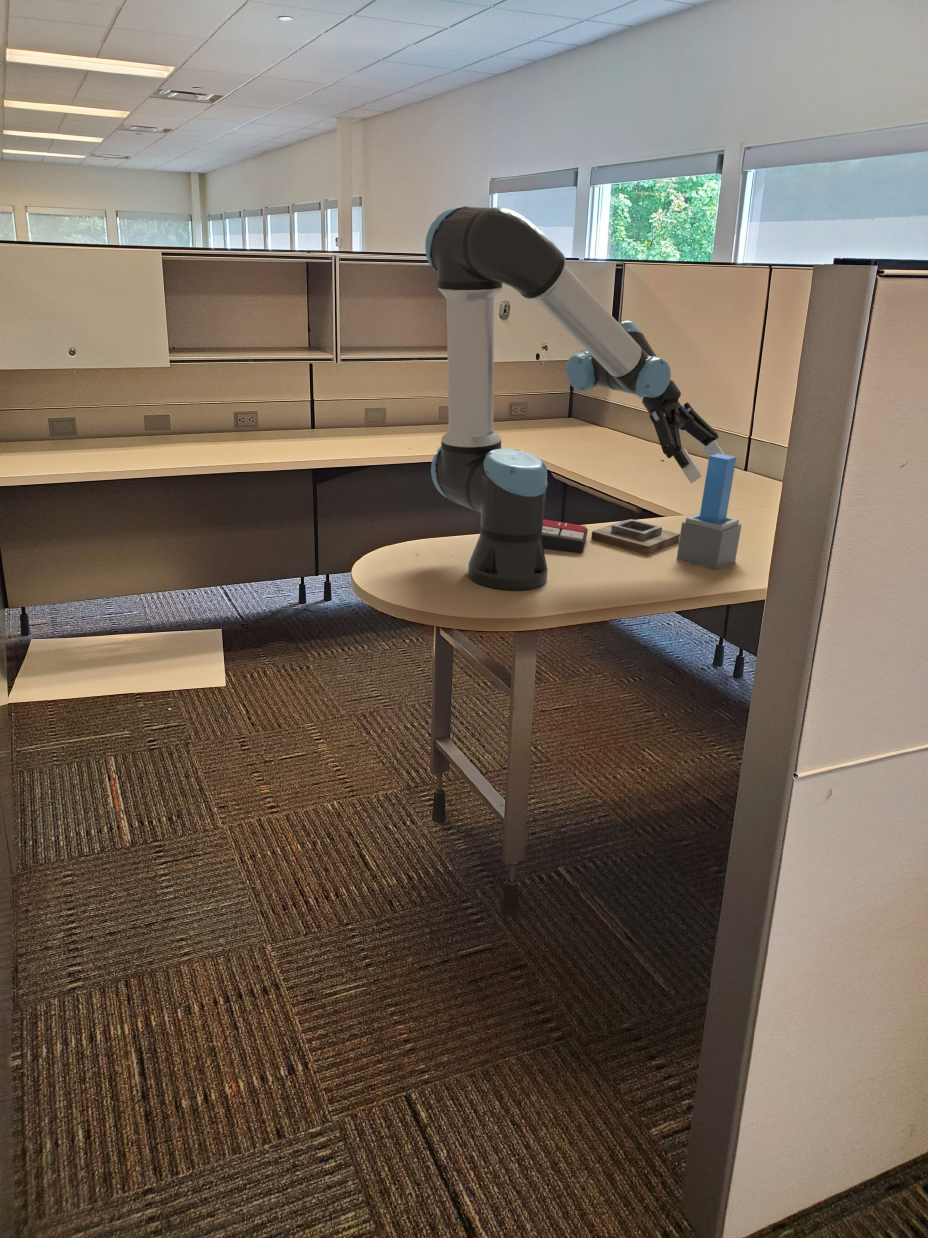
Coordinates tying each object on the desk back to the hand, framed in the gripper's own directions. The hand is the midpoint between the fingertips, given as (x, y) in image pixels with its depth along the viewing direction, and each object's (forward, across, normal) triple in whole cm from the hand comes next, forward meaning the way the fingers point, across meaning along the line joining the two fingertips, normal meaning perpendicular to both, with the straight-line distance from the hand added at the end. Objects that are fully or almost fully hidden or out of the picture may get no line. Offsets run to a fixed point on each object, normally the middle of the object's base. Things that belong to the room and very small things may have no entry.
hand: (712, 474), depth 191 cm
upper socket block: (+14, 0, +11) cm, 18 cm away
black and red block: (-6, -16, +32) cm, 37 cm away
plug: (+8, 0, +6) cm, 10 cm away
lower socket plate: (+2, 0, +23) cm, 23 cm away
